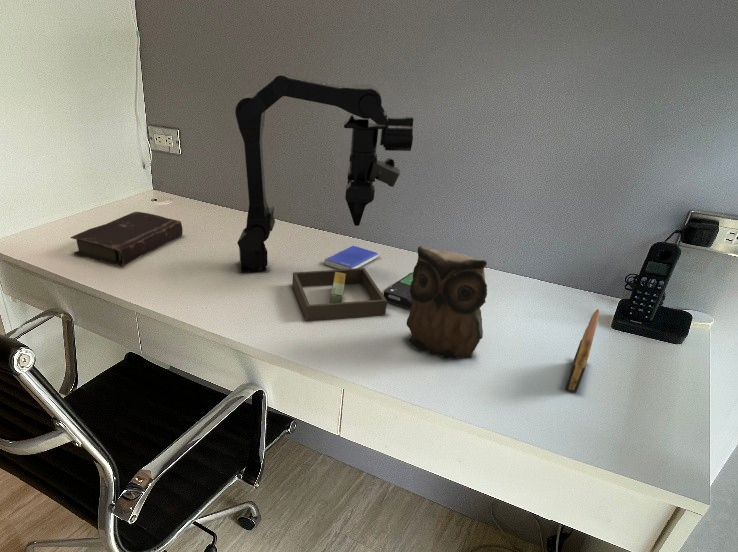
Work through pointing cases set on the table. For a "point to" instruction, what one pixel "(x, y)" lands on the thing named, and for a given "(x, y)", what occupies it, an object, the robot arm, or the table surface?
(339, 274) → the medication box
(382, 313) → the storage box
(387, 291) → the disk drive
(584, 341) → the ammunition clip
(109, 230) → the diary
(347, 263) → the hard drive
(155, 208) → the table surface
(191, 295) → the table surface
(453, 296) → the owl
